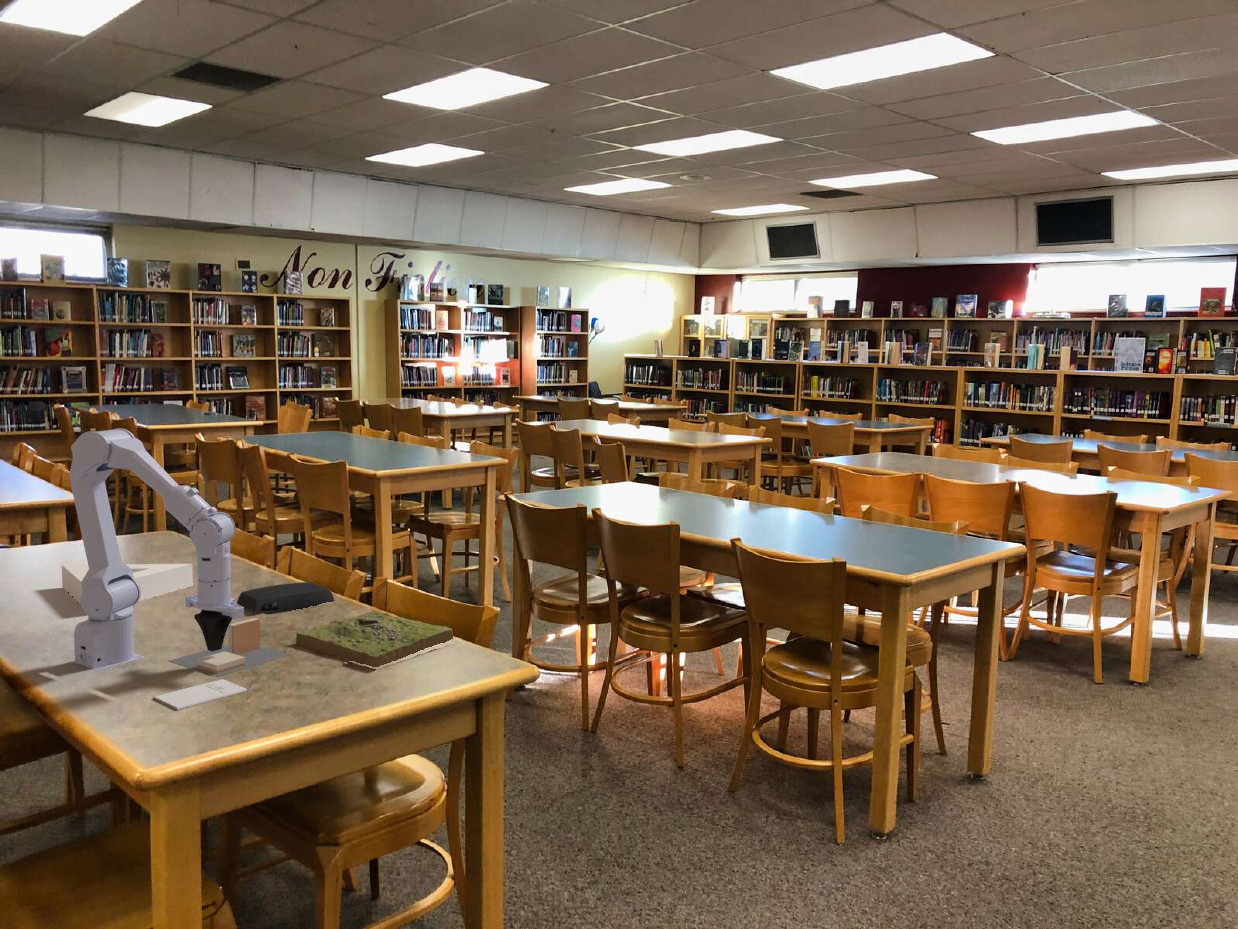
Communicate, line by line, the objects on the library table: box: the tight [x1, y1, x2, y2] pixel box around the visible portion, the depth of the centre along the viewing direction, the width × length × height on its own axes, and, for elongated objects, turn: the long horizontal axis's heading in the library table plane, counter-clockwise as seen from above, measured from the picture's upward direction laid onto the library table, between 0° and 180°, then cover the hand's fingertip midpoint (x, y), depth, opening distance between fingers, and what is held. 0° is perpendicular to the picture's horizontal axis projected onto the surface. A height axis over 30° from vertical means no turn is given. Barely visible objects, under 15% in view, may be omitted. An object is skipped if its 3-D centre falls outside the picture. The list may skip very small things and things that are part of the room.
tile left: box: [197, 651, 245, 673], centre depth 173 cm, size 6×2×6 cm
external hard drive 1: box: [152, 678, 248, 712], centre depth 158 cm, size 2×8×12 cm
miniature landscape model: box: [295, 610, 454, 667], centre depth 190 cm, size 22×24×5 cm
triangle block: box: [61, 563, 194, 605], centre depth 224 cm, size 30×26×6 cm
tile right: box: [227, 617, 261, 655], centre depth 181 cm, size 6×2×6 cm, turn 149°
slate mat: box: [168, 643, 291, 678], centre depth 178 cm, size 16×15×1 cm
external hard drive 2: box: [236, 581, 336, 616], centre depth 219 cm, size 13×19×4 cm
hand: (214, 649), depth 173 cm, fingers closed
